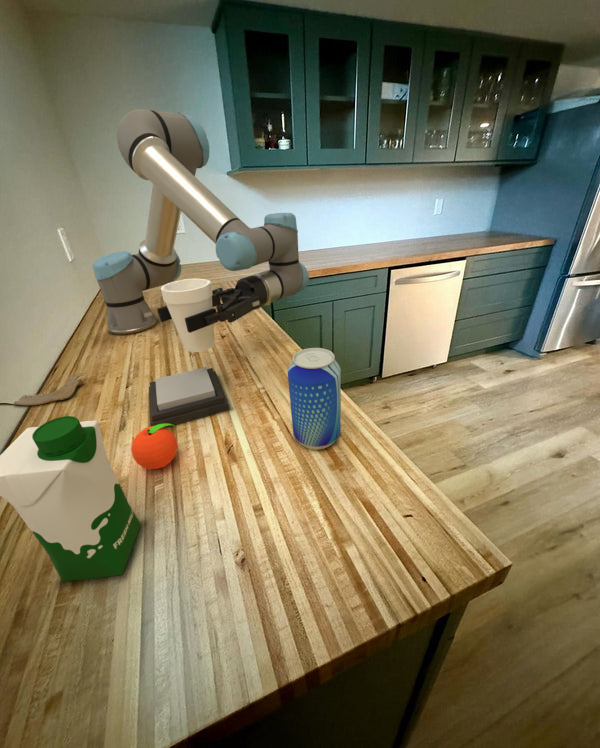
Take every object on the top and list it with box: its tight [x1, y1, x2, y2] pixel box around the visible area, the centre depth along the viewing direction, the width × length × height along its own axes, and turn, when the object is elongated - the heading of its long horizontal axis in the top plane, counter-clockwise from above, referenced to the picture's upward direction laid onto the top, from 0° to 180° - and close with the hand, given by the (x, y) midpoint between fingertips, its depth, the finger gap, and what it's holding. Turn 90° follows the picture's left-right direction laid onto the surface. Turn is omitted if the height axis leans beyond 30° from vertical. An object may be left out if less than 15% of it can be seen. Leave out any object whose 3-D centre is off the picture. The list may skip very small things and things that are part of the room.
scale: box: [148, 367, 230, 428], centre depth 72 cm, size 15×15×3 cm
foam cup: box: [160, 278, 216, 353], centre depth 68 cm, size 10×9×13 cm
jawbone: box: [13, 372, 85, 406], centre depth 76 cm, size 9×20×2 cm, turn 119°
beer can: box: [287, 347, 342, 451], centre depth 56 cm, size 8×8×16 cm
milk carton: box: [0, 415, 142, 583], centre depth 38 cm, size 9×9×20 cm
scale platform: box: [154, 367, 216, 411], centre depth 71 cm, size 11×11×2 cm
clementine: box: [130, 423, 178, 470], centre depth 55 cm, size 8×7×7 cm
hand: (172, 320), depth 65 cm, fingers closed on foam cup, 9 cm apart
